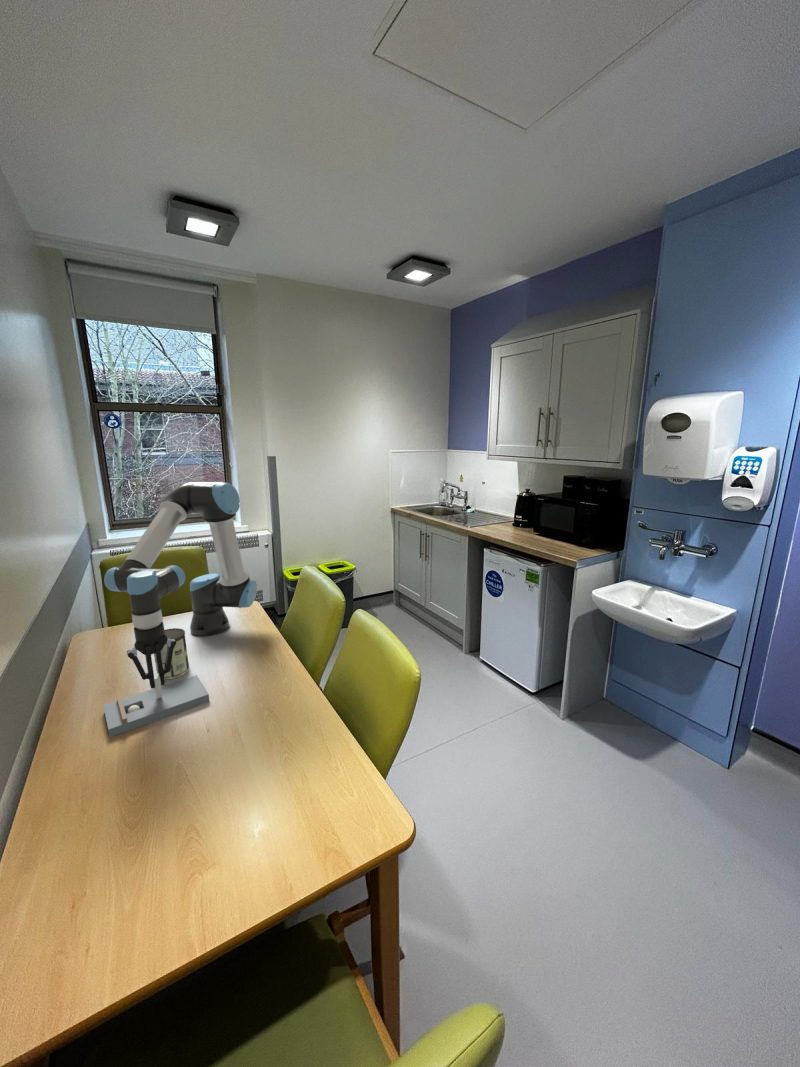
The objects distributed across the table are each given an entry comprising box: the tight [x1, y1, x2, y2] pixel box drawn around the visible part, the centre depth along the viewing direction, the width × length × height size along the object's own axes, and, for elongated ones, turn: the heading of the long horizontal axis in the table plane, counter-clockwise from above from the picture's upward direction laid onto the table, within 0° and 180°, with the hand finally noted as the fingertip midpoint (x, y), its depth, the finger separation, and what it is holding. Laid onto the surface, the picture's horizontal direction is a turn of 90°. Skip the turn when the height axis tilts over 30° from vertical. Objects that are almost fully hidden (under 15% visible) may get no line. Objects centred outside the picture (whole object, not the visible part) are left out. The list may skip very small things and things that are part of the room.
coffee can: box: [153, 627, 190, 680], centre depth 148 cm, size 10×10×14 cm
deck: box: [102, 674, 210, 738], centre depth 130 cm, size 26×14×4 cm, turn 129°
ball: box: [127, 705, 140, 714], centre depth 126 cm, size 3×3×3 cm
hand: (159, 695), depth 130 cm, fingers closed
